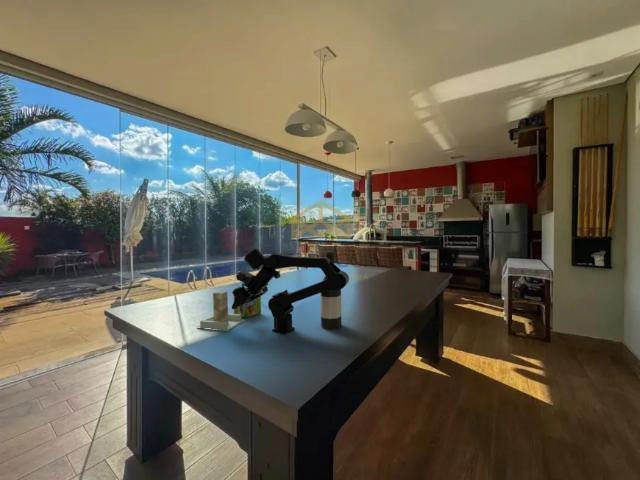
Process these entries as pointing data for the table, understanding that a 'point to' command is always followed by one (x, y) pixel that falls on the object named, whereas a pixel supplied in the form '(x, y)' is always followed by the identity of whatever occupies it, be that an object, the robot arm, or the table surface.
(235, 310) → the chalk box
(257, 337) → the table surface
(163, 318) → the table surface
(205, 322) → the tray
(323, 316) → the wine bottle
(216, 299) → the post
